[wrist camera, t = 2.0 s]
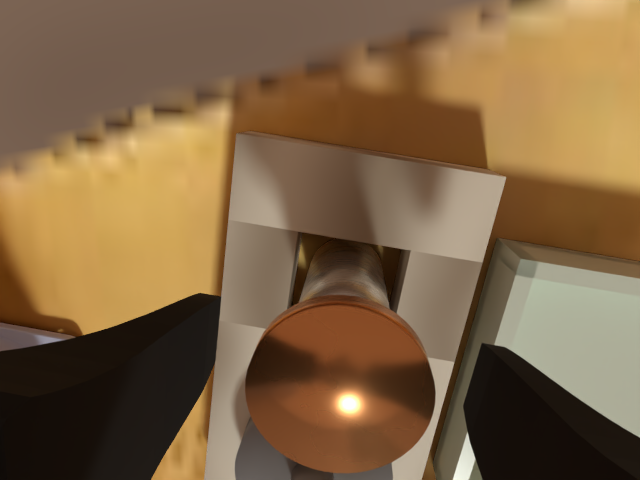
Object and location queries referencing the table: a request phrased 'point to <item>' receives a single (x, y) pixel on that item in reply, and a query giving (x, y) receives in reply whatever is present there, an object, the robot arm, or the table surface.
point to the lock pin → (341, 370)
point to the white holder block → (351, 224)
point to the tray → (553, 335)
